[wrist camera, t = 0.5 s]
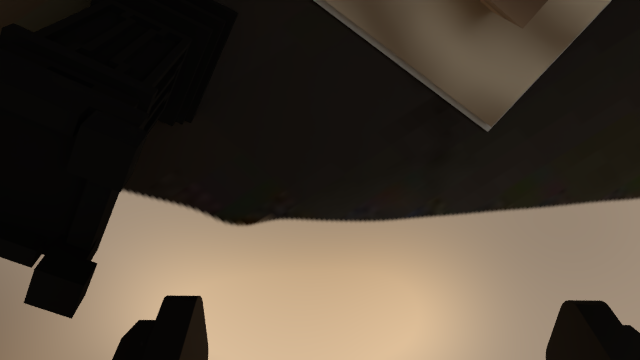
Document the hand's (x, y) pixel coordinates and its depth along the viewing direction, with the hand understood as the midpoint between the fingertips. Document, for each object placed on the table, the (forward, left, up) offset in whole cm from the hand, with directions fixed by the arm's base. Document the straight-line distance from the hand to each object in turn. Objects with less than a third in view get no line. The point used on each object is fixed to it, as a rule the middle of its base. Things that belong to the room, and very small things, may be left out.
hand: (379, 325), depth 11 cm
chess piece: (+6, -10, -25) cm, 27 cm away
